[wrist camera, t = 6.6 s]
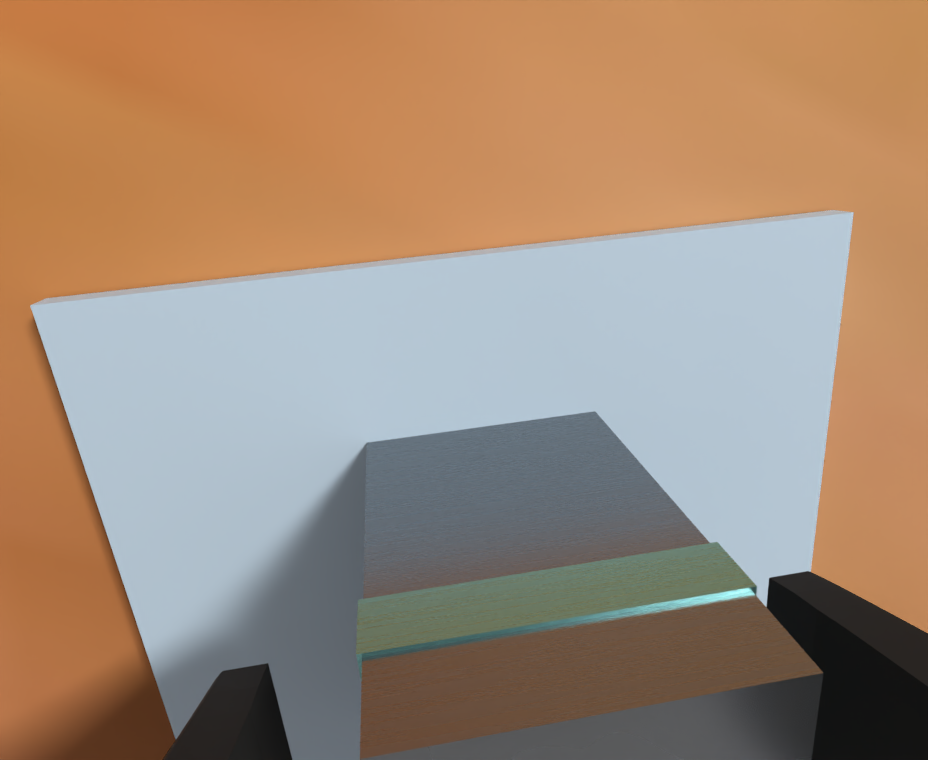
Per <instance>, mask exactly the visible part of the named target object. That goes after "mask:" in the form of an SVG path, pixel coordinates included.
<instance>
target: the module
mask: <svg viewBox="0 0 928 760" xmlns="http://www.w3.org/2000/svg"><path fill="white" fill-rule="evenodd" d="M756 592H757V586H756V585H755V583H754V582H753V581H752V580H751V579H750V578H749V577H748V576H747V575H746V573H745V572H744V571H743V570H742V569H741V568H740V567H739V566H738V564H737V563H736V562H735V561H734V560H733V559H732V558H731V557H730V556H729V554H728V553H727V552H726V551H725V550H724V549H723V548H722V547H721V545H720V544H719V543H718V542H713V543H710V542H709V541H708V540H707V539H706V538H705V537H704V535H703V534H702V533H701V532H700V531H699V530H698V529H697V527H696V526H695V525H694V524H693V523H692V522H691V521H690V519H689V518H688V517H687V516H686V515H685V514H684V512H683V511H682V510H681V509H680V508H679V507H678V506H677V504H676V503H675V502H674V501H673V500H672V499H671V498H670V496H669V495H668V494H667V493H666V492H665V491H664V490H663V488H662V487H661V486H660V485H659V484H658V483H657V482H656V480H655V479H654V478H653V477H652V476H651V475H650V474H649V472H648V471H647V470H646V469H645V468H644V467H643V466H642V464H641V463H640V462H639V461H638V460H637V459H636V458H635V456H634V455H633V454H632V453H631V452H630V451H629V449H628V448H627V447H626V446H625V445H624V444H623V443H622V441H621V440H620V439H619V438H618V437H617V436H616V435H615V433H614V432H613V431H612V430H611V429H610V428H609V427H608V425H607V424H606V423H605V422H604V421H603V420H602V419H601V417H600V416H599V415H598V414H597V413H596V412H595V411H594V412H586V413H579V414H572V415H564V416H557V417H550V418H543V419H535V420H528V421H521V422H514V423H506V424H499V425H492V426H484V427H477V428H470V429H463V430H455V431H448V432H441V433H434V434H426V435H419V436H412V437H404V438H397V439H390V440H383V441H375V442H368V443H367V452H366V498H365V544H364V589H363V599H360V600H358V612H357V641H356V657H357V662H358V667H359V673H360V678H361V727H360V760H811V759H812V752H813V744H814V737H815V730H816V723H817V716H818V709H819V702H820V695H821V687H822V680H823V672H822V671H821V669H820V668H819V667H818V666H817V665H816V664H815V663H814V661H813V660H812V659H811V658H810V657H809V656H808V655H807V653H806V652H805V651H804V650H803V649H802V648H801V647H800V645H799V644H798V643H797V642H796V641H795V640H794V638H793V637H792V636H791V635H790V634H789V633H788V632H787V630H786V629H785V628H784V627H783V626H782V625H781V624H780V622H779V621H778V620H777V619H776V618H775V617H774V616H773V614H772V613H771V612H770V611H769V610H768V609H767V608H766V606H765V605H764V604H763V603H762V602H761V601H760V600H759V598H758V597H757V596H756Z"/></svg>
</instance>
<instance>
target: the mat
mask: <svg viewBox="0 0 928 760" xmlns="http://www.w3.org/2000/svg"><path fill="white" fill-rule="evenodd" d="M853 213H854V212H845V211H837V210H829V211H820V212H812V213H803V214H794V215H785V216H776V217H767V218H758V219H749V220H740V221H731V222H722V223H714V224H705V225H696V226H687V227H678V228H669V229H660V230H651V231H642V232H633V233H624V234H616V235H607V236H598V237H589V238H580V239H571V240H562V241H553V242H544V243H535V244H526V245H518V246H509V247H500V248H491V249H482V250H473V251H464V252H455V253H446V254H437V255H428V256H420V257H411V258H402V259H393V260H384V261H375V262H366V263H357V264H348V265H339V266H330V267H322V268H313V269H304V270H295V271H286V272H277V273H268V274H259V275H250V276H241V277H233V278H224V279H215V280H206V281H197V282H188V283H179V284H170V285H161V286H152V287H143V288H135V289H126V290H117V291H108V292H99V293H90V294H81V295H72V296H63V297H54V298H46V299H44V300H42V301H40V302H37V303H35V304H33V305H30V306H31V309H32V312H33V315H34V318H35V321H36V324H37V327H38V330H39V333H40V336H41V339H42V342H43V345H44V348H45V351H46V354H47V357H48V360H49V363H50V366H51V369H52V372H53V375H54V378H55V381H56V384H57V387H58V390H59V393H60V396H61V399H62V402H63V405H64V408H65V411H66V414H67V417H68V420H69V423H70V426H71V429H72V432H73V435H74V438H75V441H76V444H77V447H78V449H79V452H80V455H81V458H82V461H83V464H84V467H85V470H86V473H87V476H88V479H89V482H90V485H91V488H92V491H93V494H94V497H95V500H96V503H97V506H98V509H99V512H100V515H101V518H102V521H103V524H104V527H105V530H106V533H107V536H108V539H109V542H110V545H111V548H112V551H113V554H114V557H115V560H116V563H117V566H118V569H119V572H120V575H121V578H122V581H123V584H124V587H125V590H126V593H127V596H128V599H129V602H130V605H131V608H132V611H133V614H134V617H135V620H136V623H137V626H138V629H139V632H140V635H141V637H142V640H143V643H144V646H145V649H146V652H147V655H148V658H149V661H150V664H151V667H152V670H153V673H154V676H155V679H156V682H157V685H158V688H159V691H160V694H161V697H162V700H163V703H164V706H165V709H166V712H167V715H168V718H169V721H170V724H171V727H172V730H173V733H174V736H175V739H177V737H178V736H179V734H180V733H181V731H182V730H183V728H184V727H185V725H186V724H187V722H188V721H189V719H190V718H191V716H192V714H193V713H194V711H195V710H196V708H197V707H198V705H199V704H200V702H201V701H202V699H203V697H204V696H205V694H206V693H207V691H208V690H209V688H210V687H211V685H212V684H213V682H214V681H215V679H216V678H217V677H218V676H219V674H220V673H221V672H222V671H225V670H231V669H237V668H243V667H249V666H254V665H260V664H266V663H268V665H269V669H270V673H271V677H272V680H273V684H274V688H275V692H276V696H277V700H278V704H279V708H280V712H281V716H282V720H283V724H284V728H285V732H286V736H287V740H288V744H289V748H290V752H291V756H292V760H360V727H361V678H360V673H359V667H358V662H357V657H356V641H357V612H358V600H360V599H363V589H364V544H365V498H366V452H367V443H368V442H375V441H383V440H390V439H397V438H404V437H412V436H419V435H426V434H434V433H441V432H448V431H455V430H463V429H470V428H477V427H484V426H492V425H499V424H506V423H514V422H521V421H528V420H535V419H543V418H550V417H557V416H564V415H572V414H579V413H586V412H594V411H595V412H596V413H597V414H598V415H599V416H600V417H601V419H602V420H603V421H604V422H605V423H606V424H607V425H608V427H609V428H610V429H611V430H612V431H613V432H614V433H615V435H616V436H617V437H618V438H619V439H620V440H621V441H622V443H623V444H624V445H625V446H626V447H627V448H628V449H629V451H630V452H631V453H632V454H633V455H634V456H635V458H636V459H637V460H638V461H639V462H640V463H641V464H642V466H643V467H644V468H645V469H646V470H647V471H648V472H649V474H650V475H651V476H652V477H653V478H654V479H655V480H656V482H657V483H658V484H659V485H660V486H661V487H662V488H663V490H664V491H665V492H666V493H667V494H668V495H669V496H670V498H671V499H672V500H673V501H674V502H675V503H676V504H677V506H678V507H679V508H680V509H681V510H682V511H683V512H684V514H685V515H686V516H687V517H688V518H689V519H690V521H691V522H692V523H693V524H694V525H695V526H696V527H697V529H698V530H699V531H700V532H701V533H702V534H703V535H704V537H705V538H706V539H707V540H708V541H709V542H710V543H713V542H718V543H719V544H720V545H721V547H722V548H723V549H724V550H725V551H726V552H727V553H728V554H729V556H730V557H731V558H732V559H733V560H734V561H735V562H736V563H737V564H738V566H739V567H740V568H741V569H742V570H743V571H744V572H745V573H746V575H747V576H748V577H749V578H750V579H751V580H752V581H753V582H754V583H755V585H756V586H757V592H756V596H757V597H758V598H759V600H760V601H761V602H762V603H763V604H764V605H765V606H767V596H768V585H769V578H770V577H776V576H782V575H788V574H794V573H800V572H806V571H809V572H811V564H812V555H813V547H814V539H815V530H816V522H817V514H818V505H819V497H820V489H821V480H822V472H823V464H824V455H825V447H826V439H827V430H828V422H829V413H830V405H831V397H832V388H833V380H834V372H835V363H836V355H837V347H838V338H839V330H840V322H841V313H842V305H843V297H844V288H845V280H846V271H847V263H848V255H849V246H850V238H851V230H852V221H853Z"/></svg>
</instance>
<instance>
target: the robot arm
mask: <svg viewBox="0 0 928 760" xmlns="http://www.w3.org/2000/svg"><path fill="white" fill-rule="evenodd" d="M766 608H767V609H768V610H769V611H770V612H771V613H772V614H773V616H774V617H775V618H776V619H777V620H778V621H779V622H780V624H781V625H782V626H783V627H784V628H785V629H786V630H787V632H788V633H789V634H790V635H791V636H792V637H793V638H794V640H795V641H796V642H797V643H798V644H799V645H800V647H801V648H802V649H803V650H804V651H805V652H806V653H807V655H808V656H809V657H810V658H811V659H812V660H813V661H814V663H815V664H816V665H817V666H818V667H819V668H820V669H821V671H822V672H823V680H822V687H821V695H820V702H819V709H818V716H817V723H816V730H815V737H814V744H813V752H812V759H811V760H928V633H926V632H924V631H922V630H920V629H918V628H917V627H915V626H913V625H911V624H909V623H907V622H905V621H904V620H902V619H900V618H898V617H896V616H894V615H892V614H890V613H889V612H887V611H885V610H883V609H881V608H879V607H877V606H876V605H874V604H872V603H870V602H868V601H866V600H864V599H862V598H861V597H859V596H857V595H855V594H853V593H851V592H849V591H847V590H845V589H844V588H842V587H840V586H838V585H836V584H834V583H832V582H830V581H828V580H826V579H824V578H822V577H820V576H818V575H816V574H813V573H811V572H809V571H806V572H800V573H794V574H788V575H782V576H776V577H770V578H769V585H768V596H767V606H766ZM163 760H292V756H291V752H290V748H289V744H288V740H287V736H286V732H285V728H284V724H283V720H282V716H281V712H280V708H279V704H278V700H277V696H276V692H275V688H274V684H273V680H272V677H271V673H270V669H269V665H268V663H266V664H260V665H254V666H249V667H243V668H237V669H231V670H225V671H222V672H221V673H220V674H219V676H218V677H217V678H216V679H215V681H214V682H213V684H212V685H211V687H210V688H209V690H208V691H207V693H206V694H205V696H204V697H203V699H202V701H201V702H200V704H199V705H198V707H197V708H196V710H195V711H194V713H193V714H192V716H191V718H190V719H189V721H188V722H187V724H186V725H185V727H184V728H183V730H182V731H181V733H180V734H179V736H178V737H177V739H176V740H175V742H174V743H173V745H172V746H171V748H170V749H169V751H168V752H167V754H166V755H165V757H164V758H163Z"/></svg>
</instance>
